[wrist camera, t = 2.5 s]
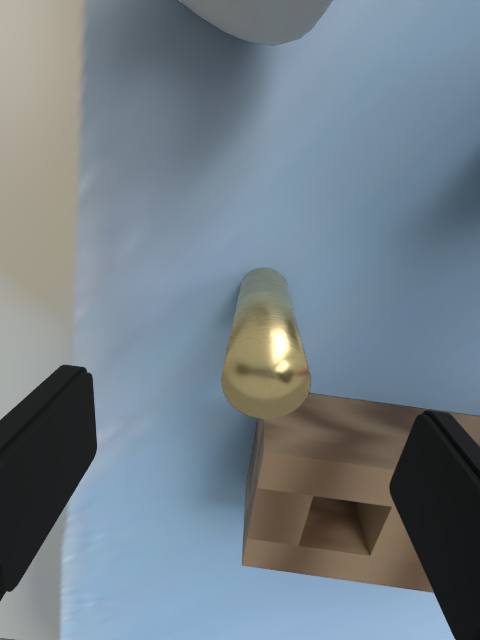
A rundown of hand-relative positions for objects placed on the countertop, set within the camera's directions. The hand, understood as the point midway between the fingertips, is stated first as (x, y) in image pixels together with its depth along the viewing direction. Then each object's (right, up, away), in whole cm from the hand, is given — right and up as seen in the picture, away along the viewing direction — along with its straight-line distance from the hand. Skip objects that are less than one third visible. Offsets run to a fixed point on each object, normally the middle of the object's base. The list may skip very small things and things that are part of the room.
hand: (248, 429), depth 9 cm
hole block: (+12, -8, +15) cm, 21 cm away
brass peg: (+1, +5, +11) cm, 12 cm away
